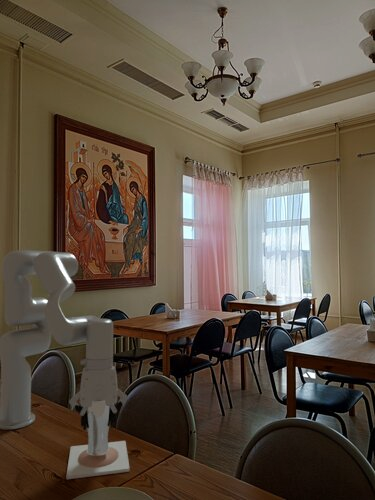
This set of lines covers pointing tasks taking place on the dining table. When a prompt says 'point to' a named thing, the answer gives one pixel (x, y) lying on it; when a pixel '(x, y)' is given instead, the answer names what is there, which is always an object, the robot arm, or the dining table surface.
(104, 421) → the beer glass
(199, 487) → the dining table surface
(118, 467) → the card
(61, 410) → the dining table surface
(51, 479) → the dining table surface
